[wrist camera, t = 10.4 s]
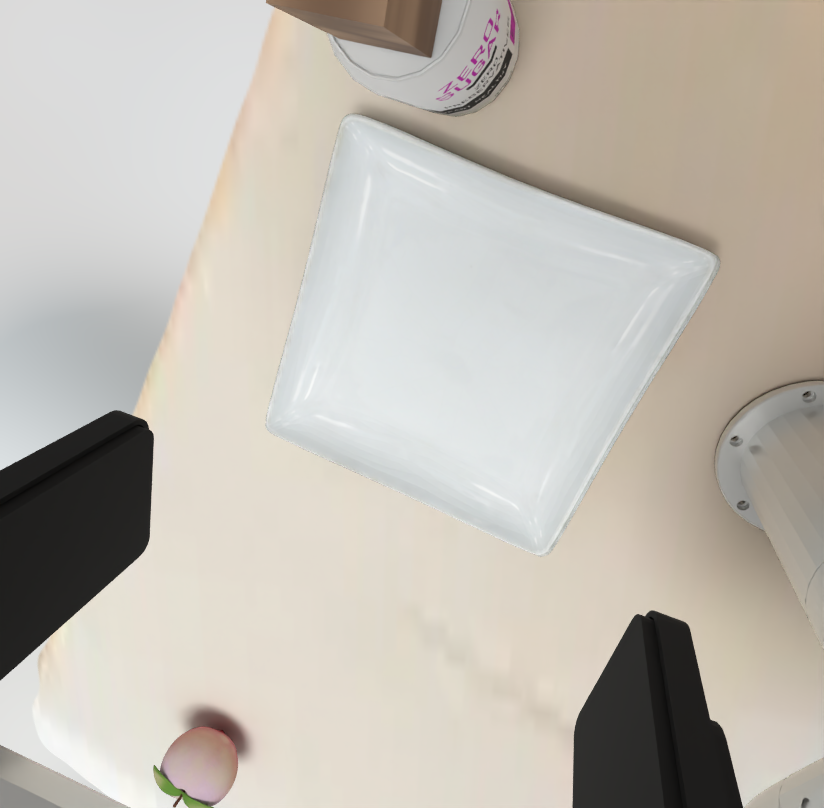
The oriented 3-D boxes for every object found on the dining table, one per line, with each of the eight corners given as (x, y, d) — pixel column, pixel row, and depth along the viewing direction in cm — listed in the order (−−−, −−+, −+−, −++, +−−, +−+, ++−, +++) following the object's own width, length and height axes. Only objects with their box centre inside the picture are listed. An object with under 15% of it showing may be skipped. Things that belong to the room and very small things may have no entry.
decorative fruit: (259, 725, 73) (214, 804, 64) (250, 763, 76) (206, 842, 68) (194, 694, 74) (140, 767, 65) (187, 732, 78) (136, 806, 69)
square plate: (549, 538, 52) (546, 565, 48) (279, 414, 55) (258, 431, 51) (717, 250, 40) (730, 259, 36) (359, 110, 42) (340, 106, 39)
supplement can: (410, -32, 38) (316, -135, 25) (534, -16, 36) (505, -117, 23) (392, 106, 41) (301, 80, 28) (505, 125, 40) (465, 108, 27)
